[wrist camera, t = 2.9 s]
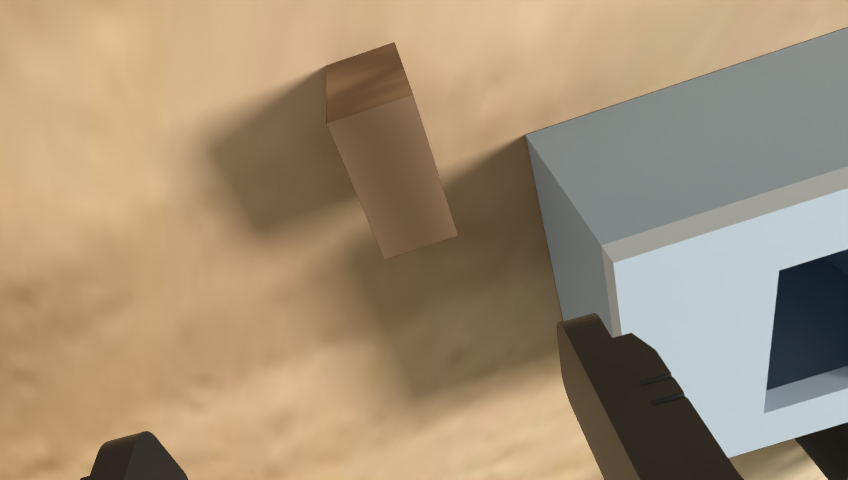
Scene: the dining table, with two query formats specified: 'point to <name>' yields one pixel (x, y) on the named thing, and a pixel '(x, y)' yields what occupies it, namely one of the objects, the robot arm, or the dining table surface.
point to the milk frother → (828, 450)
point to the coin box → (717, 235)
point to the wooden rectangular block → (386, 151)
